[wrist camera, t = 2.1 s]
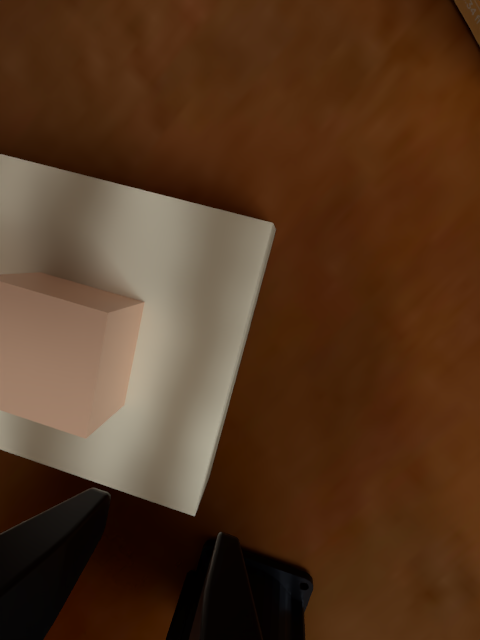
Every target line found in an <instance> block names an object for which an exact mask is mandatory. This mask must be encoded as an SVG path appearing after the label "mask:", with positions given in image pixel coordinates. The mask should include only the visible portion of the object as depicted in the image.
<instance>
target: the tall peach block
mask: <svg viewBox="0 0 480 640" xmlns="http://www.w3.org/2000/svg"><path fill="white" fill-rule="evenodd" d="M144 303H145V302H143V301H139V300H136V299H132V298H129V297H125V296H122V295H118V294H115V293H111V292H108V291H104V290H101V289H97V288H94V287H90V286H87V285H83V284H80V283H76V282H73V281H69V280H66V279H62V278H59V277H55V276H52V275H48V274H45V273H41V272H36V273H16V274H0V410H1V411H4V412H7V413H10V414H13V415H16V416H19V417H22V418H25V419H28V420H31V421H34V422H37V423H40V424H43V425H46V426H49V427H52V428H55V429H58V430H61V431H64V432H67V433H70V434H73V435H76V436H79V437H82V438H85V439H86V438H88V437H89V436H90V435H91V434H92V433H93V432H94V431H96V430H97V429H98V428H99V427H100V426H101V425H102V424H103V423H105V422H106V421H107V420H108V419H109V418H110V417H111V416H113V415H114V414H115V413H116V412H117V411H118V410H119V409H121V408H122V407H123V406H124V405H125V399H126V394H127V389H128V384H129V379H130V374H131V369H132V364H133V359H134V354H135V349H136V344H137V339H138V334H139V329H140V323H141V318H142V313H143V308H144Z"/></svg>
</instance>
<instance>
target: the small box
mask: <svg viewBox="0 0 480 640" xmlns="http://www.w3.org/2000/svg"><path fill="white" fill-rule="evenodd" d="M454 2H455V3H456V5H457V7H458V8H459V10H460V12H461V14H462V15H463V17H464V19H465V21H466V22H467V24H468V26H469V28H470V29H471V31H472V33H473V35H474V37H475V39H476V41H477V42H478V44H479V46H480V0H454Z"/></svg>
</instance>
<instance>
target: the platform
mask: <svg viewBox="0 0 480 640" xmlns="http://www.w3.org/2000/svg"><path fill="white" fill-rule="evenodd" d="M275 231H276V229H275V226H274V224H273V223H271V222H267V221H263V220H259V219H255V218H251V217H247V216H243V215H239V214H235V213H231V212H227V211H224V210H220V209H216V208H212V207H208V206H204V205H200V204H196V203H192V202H188V201H184V200H180V199H176V198H172V197H168V196H164V195H160V194H156V193H152V192H148V191H145V190H141V189H137V188H133V187H129V186H125V185H121V184H117V183H113V182H109V181H105V180H101V179H97V178H93V177H89V176H85V175H81V174H77V173H73V172H69V171H65V170H62V169H58V168H54V167H50V166H46V165H42V164H38V163H34V162H30V161H26V160H22V159H18V158H14V157H10V156H6V155H2V154H0V274H16V273H36V272H41V273H45V274H48V275H52V276H55V277H59V278H62V279H66V280H69V281H73V282H76V283H80V284H83V285H87V286H90V287H94V288H97V289H101V290H104V291H108V292H111V293H115V294H118V295H122V296H125V297H129V298H132V299H136V300H139V301H143V302H145V303H144V308H143V313H142V318H141V323H140V329H139V334H138V339H137V344H136V349H135V354H134V359H133V364H132V369H131V374H130V379H129V384H128V389H127V394H126V399H125V405H124V406H123V407H122V408H121V409H119V410H118V411H117V412H116V413H115V414H114V415H113V416H111V417H110V418H109V419H108V420H107V421H106V422H105V423H103V424H102V425H101V426H100V427H99V428H98V429H97V430H96V431H94V432H93V433H92V434H91V435H90V436H89V437H88V438H86V439H85V438H82V437H79V436H76V435H73V434H70V433H67V432H64V431H61V430H58V429H55V428H52V427H49V426H46V425H43V424H40V423H37V422H34V421H31V420H28V419H25V418H22V417H19V416H16V415H13V414H10V413H7V412H4V411H1V410H0V449H1V450H3V451H6V452H9V453H12V454H15V455H18V456H21V457H24V458H27V459H30V460H32V461H35V462H38V463H41V464H44V465H47V466H50V467H53V468H56V469H59V470H61V471H64V472H67V473H70V474H73V475H76V476H79V477H82V478H85V479H87V480H90V481H93V482H96V483H99V484H102V485H105V486H108V487H111V488H114V489H116V490H119V491H122V492H125V493H128V494H131V495H134V496H137V497H140V498H143V499H145V500H148V501H151V502H154V503H157V504H160V505H163V506H166V507H169V508H171V509H174V510H177V511H180V512H183V513H186V514H189V515H192V516H195V514H196V511H197V509H198V506H199V503H200V501H201V498H202V495H203V492H204V490H205V487H206V484H207V482H208V479H209V476H210V472H211V468H212V465H213V461H214V457H215V454H216V450H217V446H218V443H219V439H220V435H221V431H222V428H223V424H224V420H225V417H226V413H227V409H228V406H229V402H230V398H231V394H232V391H233V387H234V383H235V380H236V376H237V372H238V368H239V365H240V361H241V357H242V354H243V350H244V346H245V343H246V339H247V335H248V331H249V328H250V324H251V320H252V317H253V313H254V309H255V306H256V302H257V298H258V294H259V291H260V287H261V283H262V280H263V276H264V272H265V269H266V265H267V261H268V257H269V254H270V250H271V246H272V243H273V239H274V235H275Z"/></svg>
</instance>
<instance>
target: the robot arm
mask: <svg viewBox="0 0 480 640" xmlns="http://www.w3.org/2000/svg"><path fill="white" fill-rule="evenodd" d="M110 501H111V495H110V494H109V493H108V492H105V491H102V490H100V489H97V488H90V489H88V490H86V491H84V492H82V493H80V494H78V495H76V496H74V497H72V498H70V499H68V500H66V501H64V502H62V503H60V504H58V505H56V506H54V507H52V508H50V509H48V510H46V511H44V512H42V513H40V514H38V515H36V516H34V517H32V518H30V519H28V520H26V521H24V522H22V523H20V524H18V525H16V526H14V527H13V528H11V529H9V530H7V531H5V532H3V533H1V534H0V640H43V639H44V637H45V636H46V634H47V633H48V631H49V629H50V628H51V626H52V625H53V623H54V621H55V619H56V618H57V616H58V614H59V612H60V611H61V609H62V607H63V605H64V604H65V602H66V600H67V598H68V596H69V595H70V593H71V591H72V589H73V587H74V585H75V584H76V582H77V580H78V578H79V576H80V575H81V573H82V571H83V569H84V567H85V566H86V564H87V562H88V560H89V558H90V557H91V555H92V553H93V551H94V549H95V548H96V546H97V544H98V542H99V540H100V538H101V536H102V534H103V532H104V529H105V525H106V520H107V515H108V511H109V506H110ZM209 549H210V550H213V551H210V550H209ZM304 583H305V584H304ZM312 591H313V579H312V577H311V576H310V575H309V574H308V573H305V572H303V571H300V570H297V569H294V568H291V567H288V566H285V565H283V564H280V563H277V562H274V561H271V560H268V559H265V558H263V557H260V556H257V555H254V554H251V553H248V552H245V551H243V550H241V546H240V542H239V539H238V538H237V537H235V536H232V535H229V534H226V533H223V532H220V533H219V534H218V536H217V539H216V541H214V540H208V541H206V542H205V544H204V546H203V549H202V553H201V557H200V560H199V564H198V567H197V571H193V570H191V571H190V572H188V573H187V576H186V579H185V582H184V585H183V588H182V591H181V594H180V597H179V600H178V603H177V606H176V609H175V612H174V615H173V618H172V622H171V625H170V628H169V631H168V634H167V637H166V640H305V624H304V612H305V609H306V606H307V604H308V601H309V599H310V596H311V593H312Z"/></svg>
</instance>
